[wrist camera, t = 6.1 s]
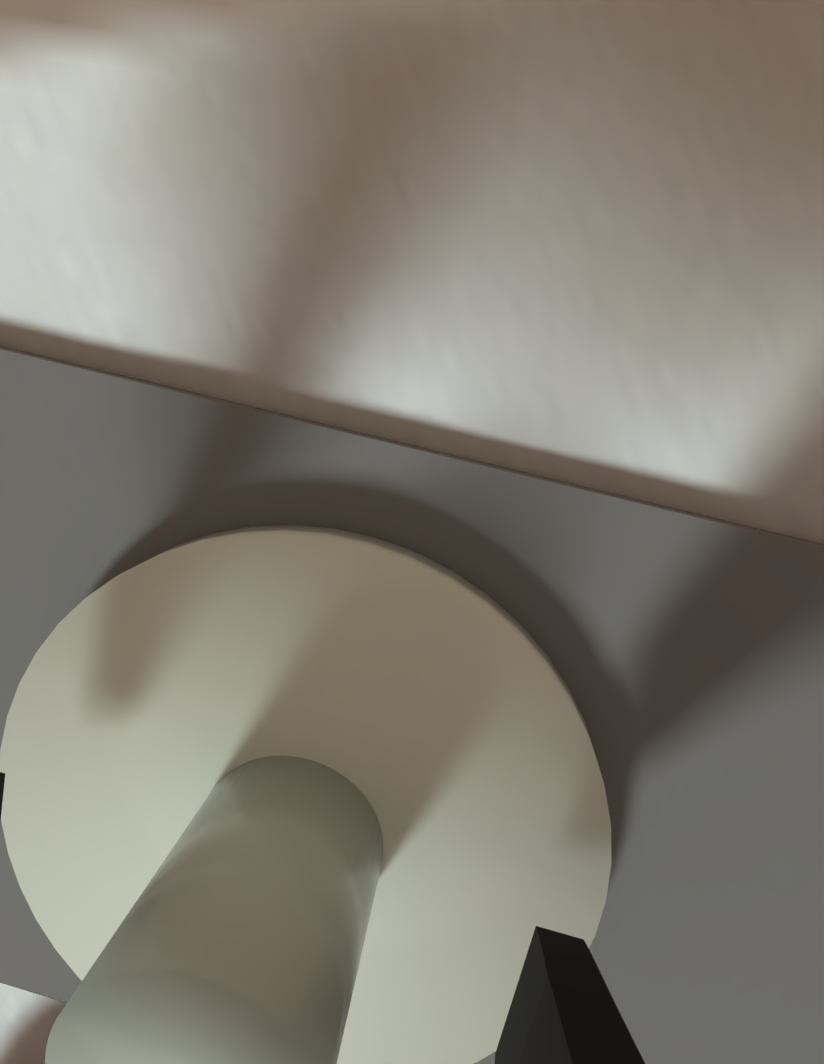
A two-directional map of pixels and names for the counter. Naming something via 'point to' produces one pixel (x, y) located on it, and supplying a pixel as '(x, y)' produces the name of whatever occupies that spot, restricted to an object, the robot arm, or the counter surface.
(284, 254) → the counter surface
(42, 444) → the mat
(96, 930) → the lid
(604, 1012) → the robot arm
